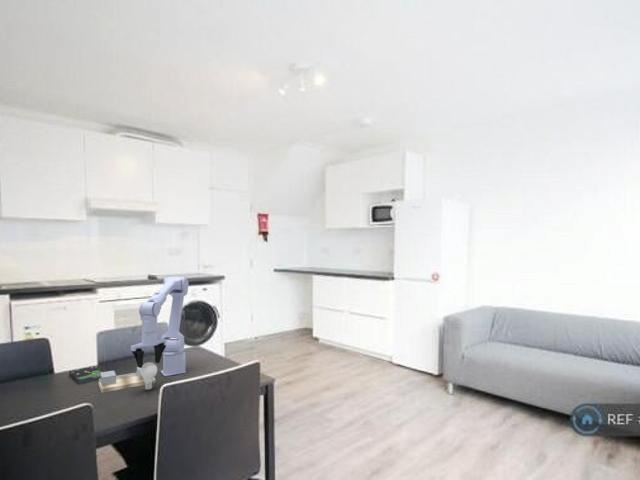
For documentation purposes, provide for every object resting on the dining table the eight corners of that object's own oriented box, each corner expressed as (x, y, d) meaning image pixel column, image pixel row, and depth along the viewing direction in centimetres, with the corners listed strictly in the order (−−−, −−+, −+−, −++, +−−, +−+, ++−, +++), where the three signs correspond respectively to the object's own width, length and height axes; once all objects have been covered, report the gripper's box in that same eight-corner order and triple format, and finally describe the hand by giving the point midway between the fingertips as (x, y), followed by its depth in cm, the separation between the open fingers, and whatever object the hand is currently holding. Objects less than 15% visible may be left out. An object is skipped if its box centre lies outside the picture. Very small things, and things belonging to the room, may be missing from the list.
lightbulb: (160, 388, 157) (160, 361, 157) (148, 393, 151) (149, 365, 151) (148, 385, 159) (148, 359, 159) (136, 391, 153) (136, 363, 153)
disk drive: (68, 377, 169) (78, 385, 159) (68, 371, 169) (78, 379, 159) (94, 372, 177) (105, 379, 167) (94, 366, 177) (105, 373, 167)
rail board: (149, 375, 172) (150, 364, 172) (155, 382, 163) (155, 371, 163) (98, 384, 160) (98, 372, 160) (101, 392, 151) (101, 380, 151)
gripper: (159, 327, 163) (159, 358, 163) (126, 333, 151) (126, 367, 151) (169, 329, 160) (169, 361, 159) (136, 335, 147) (136, 371, 147)
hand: (148, 364), depth 155 cm, fingers open, 7 cm apart
